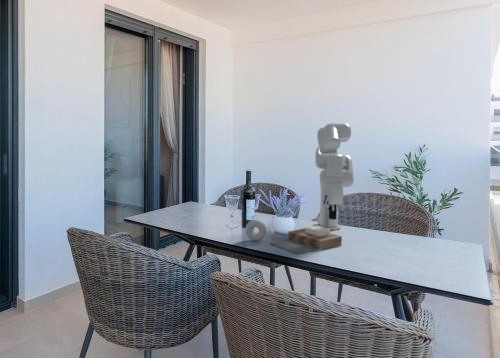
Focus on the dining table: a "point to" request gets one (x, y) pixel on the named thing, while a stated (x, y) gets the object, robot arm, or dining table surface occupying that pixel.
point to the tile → (317, 230)
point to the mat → (293, 246)
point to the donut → (260, 226)
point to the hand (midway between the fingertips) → (332, 219)
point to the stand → (315, 239)
